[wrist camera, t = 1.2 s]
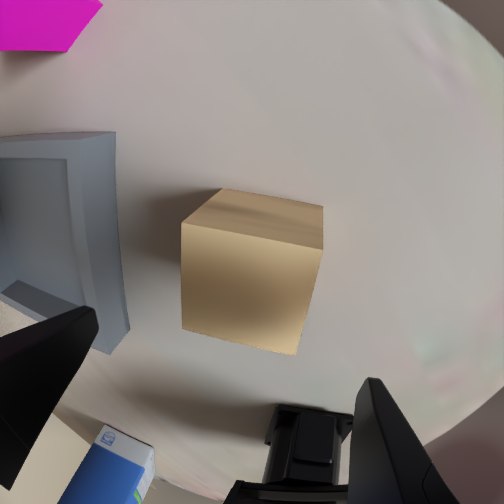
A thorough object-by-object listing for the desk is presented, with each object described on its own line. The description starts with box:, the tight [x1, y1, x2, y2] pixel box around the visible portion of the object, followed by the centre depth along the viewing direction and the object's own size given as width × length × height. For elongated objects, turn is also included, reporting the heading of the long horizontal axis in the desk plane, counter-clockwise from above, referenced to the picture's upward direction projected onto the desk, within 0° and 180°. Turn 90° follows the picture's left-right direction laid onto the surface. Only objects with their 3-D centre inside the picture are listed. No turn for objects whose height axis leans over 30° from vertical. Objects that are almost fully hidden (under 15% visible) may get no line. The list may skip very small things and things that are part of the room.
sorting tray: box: [0, 132, 130, 355], centre depth 18 cm, size 14×14×3 cm
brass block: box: [181, 188, 323, 356], centre depth 14 cm, size 5×5×5 cm
